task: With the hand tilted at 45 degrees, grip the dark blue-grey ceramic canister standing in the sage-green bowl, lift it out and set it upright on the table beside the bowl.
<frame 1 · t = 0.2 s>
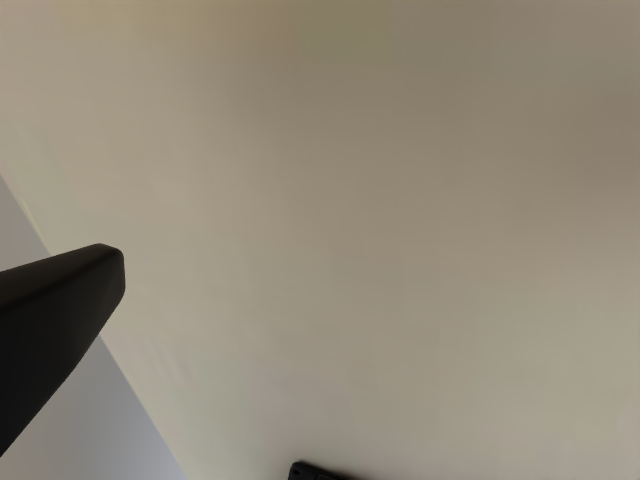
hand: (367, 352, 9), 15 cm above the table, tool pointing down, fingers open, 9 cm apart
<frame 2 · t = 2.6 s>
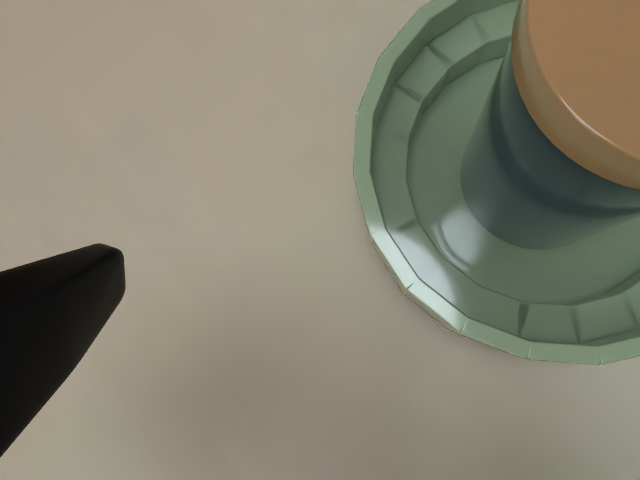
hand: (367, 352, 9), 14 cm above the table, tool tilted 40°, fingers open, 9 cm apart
bowl: (533, 178, 22), on the table
canister: (537, 174, 21), point 1 cm above the table, touching bowl
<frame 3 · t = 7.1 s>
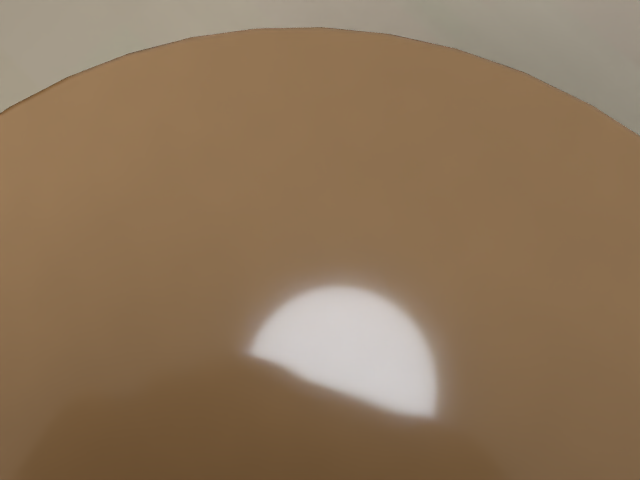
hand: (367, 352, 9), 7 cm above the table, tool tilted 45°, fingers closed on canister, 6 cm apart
canister: (355, 408, 14), point 1 cm above the table, touching bowl, gripper
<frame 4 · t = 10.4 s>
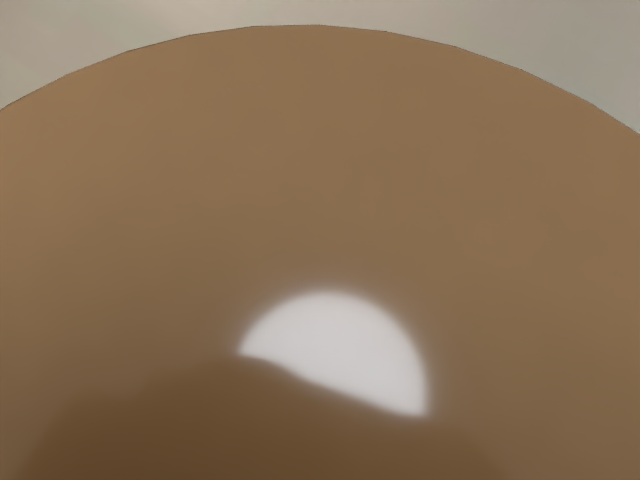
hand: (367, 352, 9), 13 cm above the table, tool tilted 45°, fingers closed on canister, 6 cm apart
canister: (355, 407, 14), point 7 cm above the table, touching gripper
when the fingers open (6 cm above the table, at t = 14.1 s): canister stays where it is, on the table.
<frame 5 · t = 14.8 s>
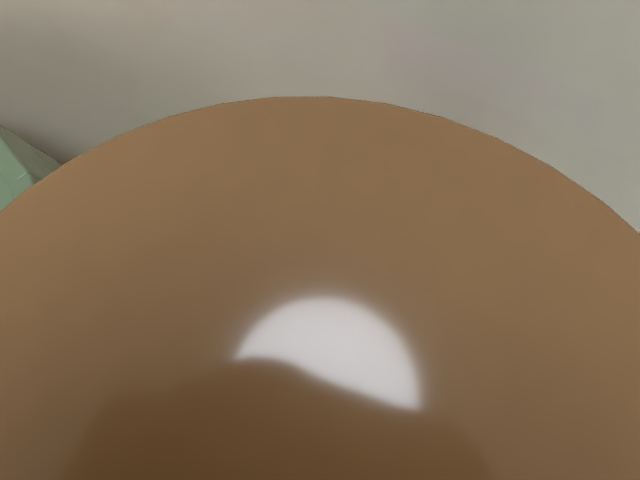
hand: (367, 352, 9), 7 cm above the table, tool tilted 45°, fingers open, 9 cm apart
canister: (356, 409, 15), on the table
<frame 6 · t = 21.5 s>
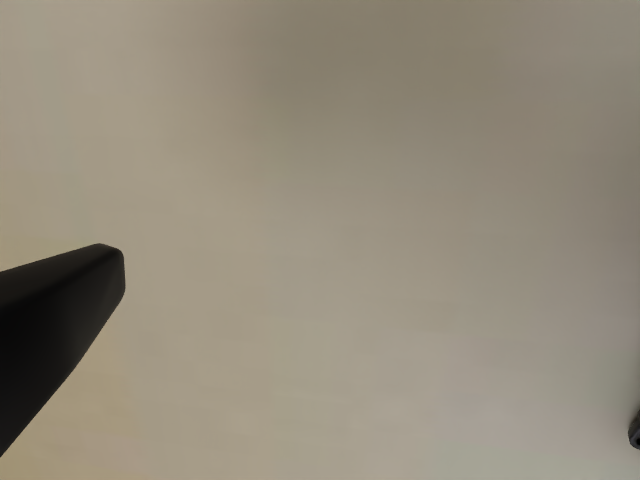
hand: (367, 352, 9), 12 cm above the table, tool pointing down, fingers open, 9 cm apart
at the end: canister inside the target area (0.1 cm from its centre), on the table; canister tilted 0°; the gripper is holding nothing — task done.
